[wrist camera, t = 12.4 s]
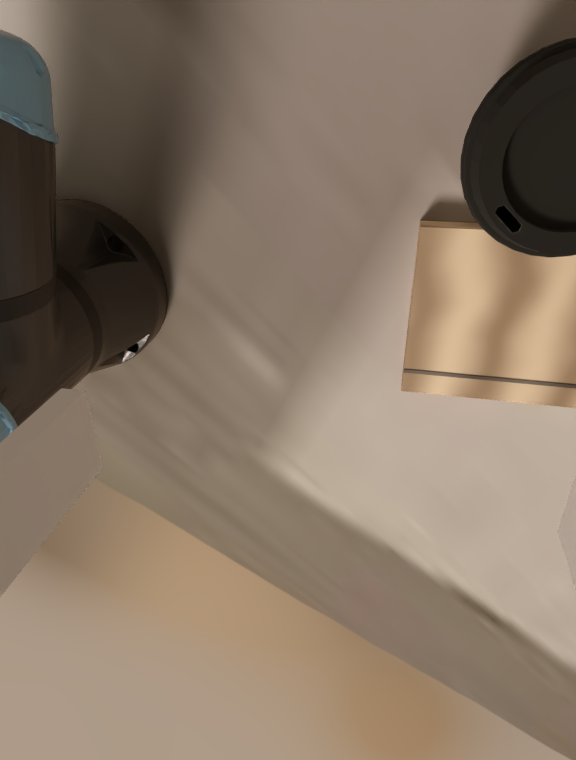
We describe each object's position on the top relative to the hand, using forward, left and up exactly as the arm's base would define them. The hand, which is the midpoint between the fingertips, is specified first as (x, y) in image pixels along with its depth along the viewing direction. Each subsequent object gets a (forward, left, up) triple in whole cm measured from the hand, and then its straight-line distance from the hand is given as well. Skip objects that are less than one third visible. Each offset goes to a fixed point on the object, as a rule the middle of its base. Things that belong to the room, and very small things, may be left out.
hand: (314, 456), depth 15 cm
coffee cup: (+9, +5, -32) cm, 34 cm away
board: (+16, -8, -32) cm, 36 cm away
